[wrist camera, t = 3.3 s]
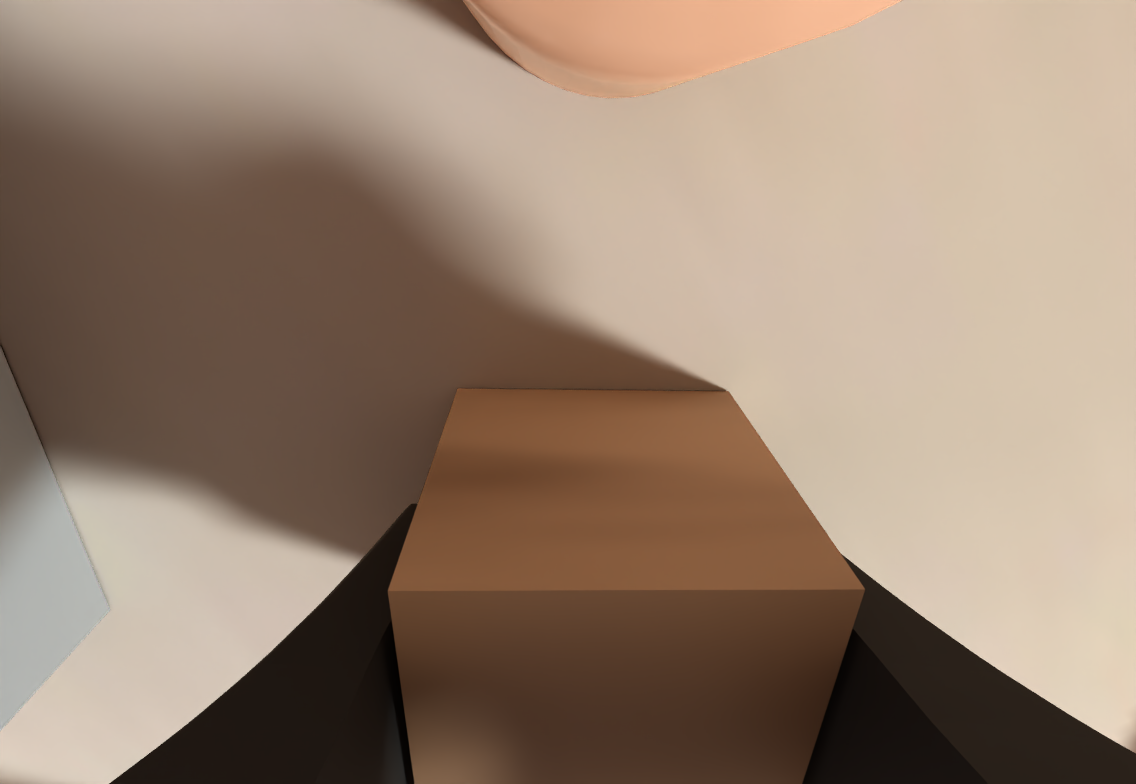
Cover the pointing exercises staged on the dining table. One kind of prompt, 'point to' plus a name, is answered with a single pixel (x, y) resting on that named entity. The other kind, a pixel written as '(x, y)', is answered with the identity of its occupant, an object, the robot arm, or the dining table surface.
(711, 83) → the dining table surface
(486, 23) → the peach rounded capsule
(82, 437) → the dining table surface
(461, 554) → the walnut block
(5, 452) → the tote
